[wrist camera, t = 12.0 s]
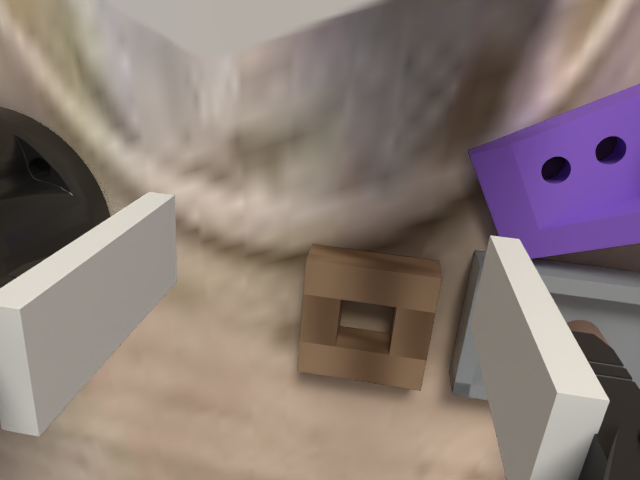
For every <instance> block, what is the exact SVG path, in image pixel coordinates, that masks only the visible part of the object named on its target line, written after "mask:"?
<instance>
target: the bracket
mask: <svg viewBox="0 0 640 480" xmlns="http://www.w3.org/2000/svg"><path fill="white" fill-rule="evenodd" d="M610 136H617V145H616V148H615V149H614V151H613V152H612V153H611V154H610V155H609V156H608V157H606V158H605V159H602V160H599V161H598V160H597V158H596V155H595V150H596V147H597V145H598V144H599V142H600V141H601V140H603V139H604V138H606V137H610ZM468 153H469V156H470V158H471V161H472V164H473V167H474V170H475V172H476V175H477V178H478V181H479V183H480V186H481V189H482V192H483V195H484V197H485V200H486V203H487V206H488V209H489V211H490V214H491V217H492V220H493V222H494V225H495V228H496V231H497V234H498V236H499V237H507V238H515V239H520V241H521V243H522V245H523V246H524V248H525V250H526V252H527V254H528V255H529V257H530V259H533V258H540V257H547V256H554V255H561V254H568V253H575V252H582V251H589V250H596V249H602V248H609V247H616V246H623V245H630V244H637V243H640V84H638V85H635V86H633V87H630V88H628V89H625V90H622V91H620V92H617V93H615V94H612V95H610V96H607V97H604V98H602V99H599V100H597V101H594V102H592V103H589V104H586V105H584V106H581V107H579V108H576V109H574V110H571V111H568V112H566V113H563V114H561V115H558V116H556V117H553V118H550V119H548V120H545V121H543V122H540V123H538V124H535V125H532V126H530V127H527V128H525V129H522V130H520V131H517V132H514V133H512V134H509V135H507V136H504V137H502V138H499V139H496V140H494V141H491V142H489V143H486V144H484V145H481V146H478V147H476V148H473V149H471V150H468ZM552 157H563V158H565V159H566V161H565V165H564V167H563V169H562V170H561V172H560V173H559V174H557V175H556V176H554V177H552V178H549V179H543V177H542V175H541V169H542V166H543V164H544V163H545V162H546V161H547V160H548V159H550V158H552Z"/></svg>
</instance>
